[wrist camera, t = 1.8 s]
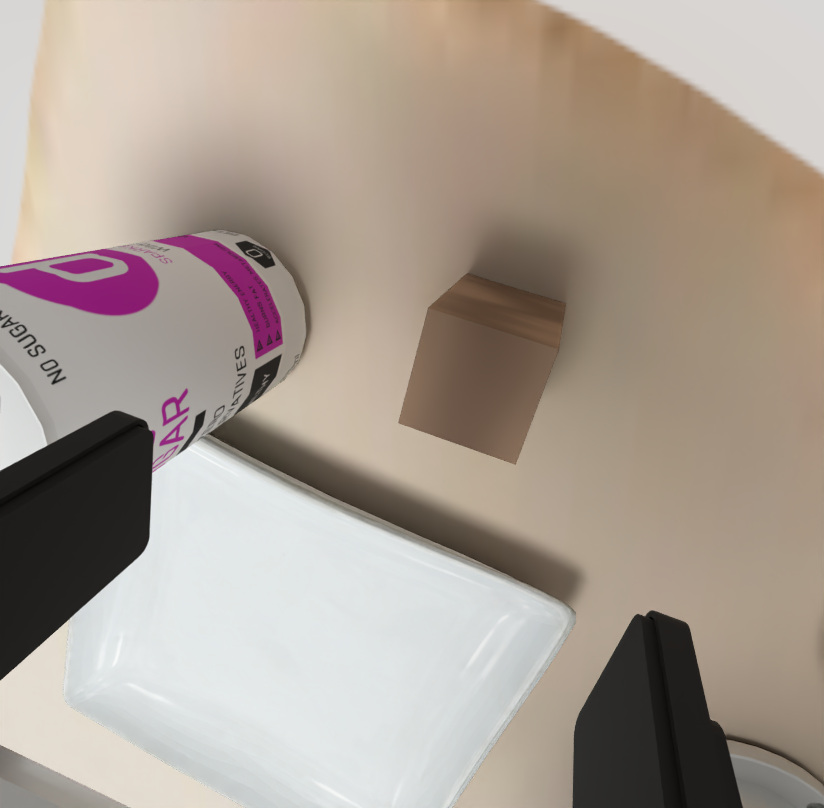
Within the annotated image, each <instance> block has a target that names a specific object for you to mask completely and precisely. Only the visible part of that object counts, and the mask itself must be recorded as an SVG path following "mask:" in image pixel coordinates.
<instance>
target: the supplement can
mask: <svg viewBox="0 0 824 808" xmlns="http://www.w3.org/2000/svg"><path fill="white" fill-rule="evenodd" d="M305 338H306V323H305V310H304V304H303V302H302V299H301V297H300V294H299V292H298V289H297V287H296V284H295V282H294V279H293V277H292V276H291V274H290V273H289V272H288V271H287V269H286V268H285V267H284V266H283V265H282V263H281V262H280V261H279V260H278V258H277V257H276V256H275V255H274V253H273V252H271V251H270V250H268V249H267V248H265V247H264V246H262V245H261V244H259V243H258V242H256V241H255V240H253V239H251V238H250V237H248V236H247V235H242V234H238V233H233V232H229V231H225V230H220V229H219V230H213V231H207V232H201V233H196V234H190V235H184V236H178V237H172V238H166V239H160V240H154V241H148V242H142V243H136V244H130V245H125V246H119V247H113V248H107V249H101V250H95V251H89V252H83V253H77V254H71V255H65V256H60V257H54V258H48V259H42V260H36V261H30V262H24V263H18V264H12V265H6V266H1V267H0V470H2V469H4V468H6V467H8V466H10V465H12V464H14V463H15V462H17V461H19V460H21V459H23V458H25V457H27V456H29V455H30V454H32V453H34V452H36V451H38V450H40V449H42V448H44V447H46V446H47V445H49V444H51V443H53V442H55V441H57V440H59V439H61V438H62V437H64V436H66V435H68V434H70V433H72V432H74V431H76V430H77V429H79V428H81V427H83V426H85V425H87V424H89V423H91V422H93V421H94V420H96V419H98V418H100V417H102V416H104V415H106V414H108V413H109V412H112V411H115V410H117V411H122V412H124V413H127V414H130V415H132V416H135V417H138V418H140V419H143V420H145V421H146V422H147V424H148V427H149V430H150V431H152V433H153V436H154V445H153V468H152V473H153V472H154V471H156V470H157V469H158V468H160V467H161V466H163V465H164V464H165V463H167V462H168V461H170V460H171V459H173V458H174V457H175V456H177V455H178V454H180V453H181V452H183V451H184V450H185V449H187V448H188V447H190V446H191V445H193V444H194V443H195V442H197V441H198V440H200V439H201V438H203V437H204V436H205V435H207V434H208V433H210V432H211V431H212V430H214V429H215V428H217V427H218V426H220V425H221V424H222V423H224V422H225V421H227V420H228V419H230V418H231V417H232V416H234V415H235V414H237V413H238V412H240V411H241V410H242V409H244V408H245V407H247V406H248V405H249V404H251V403H252V402H254V401H255V400H257V399H258V398H259V397H261V396H262V395H264V394H265V393H267V392H268V391H269V390H271V389H272V388H274V387H275V386H277V385H278V384H279V383H281V382H282V381H284V380H285V379H286V377H287V376H288V375H289V373H290V372H291V371H292V370H293V368H294V367H295V366H296V364H297V363H298V362H299V360H300V357H301V353H302V349H303V346H304V342H305Z"/></svg>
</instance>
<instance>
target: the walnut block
mask: <svg viewBox="0 0 824 808" xmlns="http://www.w3.org/2000/svg"><path fill="white" fill-rule="evenodd" d="M565 307H566V304H565V303H562V302H558V301H555V300H552V299H549V298H545V297H542V296H539V295H535V294H532V293H529V292H526V291H522V290H519V289H516V288H513V287H509V286H506V285H503V284H500V283H496V282H493V281H490V280H487V279H483V278H480V277H477V276H473V275H470V274H466V275H465V276H464V277H463V278H461V279H460V280H459V281H458V282H457V283H456V284H455V285H454V286H452V287H451V288H450V289H449V290H448V291H447V292H446V293H444V294H443V295H442V296H441V297H440V298H439V299H438V300H437V301H435V302H434V303H433V304H432V305H431V306H430V307H429V308H428V311H427V315H426V319H425V323H424V326H423V330H422V334H421V338H420V342H419V346H418V349H417V353H416V357H415V361H414V365H413V369H412V372H411V376H410V380H409V384H408V388H407V392H406V395H405V399H404V403H403V407H402V411H401V415H400V418H399V422H398V423H400V424H402V425H405V426H408V427H411V428H414V429H417V430H419V431H422V432H425V433H428V434H431V435H433V436H436V437H439V438H442V439H445V440H448V441H450V442H453V443H456V444H459V445H462V446H465V447H467V448H470V449H473V450H476V451H479V452H482V453H484V454H487V455H490V456H493V457H496V458H498V459H501V460H504V461H507V462H510V463H513V464H515V465H516V462H517V460H518V457H519V454H520V452H521V449H522V446H523V444H524V441H525V438H526V436H527V433H528V430H529V428H530V425H531V422H532V420H533V417H534V414H535V412H536V409H537V406H538V404H539V401H540V398H541V396H542V393H543V390H544V388H545V385H546V382H547V380H548V377H549V374H550V372H551V369H552V366H553V364H554V361H555V358H556V356H557V353H558V350H559V345H560V339H561V333H562V326H563V320H564V313H565Z"/></svg>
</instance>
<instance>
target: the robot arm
mask: <svg viewBox="0 0 824 808" xmlns="http://www.w3.org/2000/svg"><path fill="white" fill-rule="evenodd" d="M153 445H154V436H153V433H152V431H150V430H149V427H148V424H147V422H146V421H145V420H143V419H140V418H138V417H135V416H132V415H130V414H127V413H124V412H122V411H117V410H115V411H112V412H109V413H108V414H106V415H104V416H102V417H100V418H98V419H96V420H94V421H93V422H91V423H89V424H87V425H85V426H83V427H81V428H79V429H77V430H76V431H74V432H72V433H70V434H68V435H66V436H64V437H62V438H61V439H59V440H57V441H55V442H53V443H51V444H49V445H47V446H46V447H44V448H42V449H40V450H38V451H36V452H34V453H32V454H30V455H29V456H27V457H25V458H23V459H21V460H19V461H17V462H15V463H14V464H12V465H10V466H8V467H6V468H4V469H2V470H0V680H1V679H3V678H4V677H5V676H6V675H7V674H8V673H9V672H10V671H12V670H13V669H14V668H15V667H16V666H17V665H18V664H19V663H21V662H22V661H23V660H24V659H25V658H26V657H27V656H28V655H30V654H31V653H32V652H33V651H34V650H35V649H36V648H37V647H38V646H40V645H41V644H42V643H43V642H44V641H45V640H46V639H47V638H49V637H50V636H51V635H52V634H53V633H54V632H55V631H56V630H58V629H59V628H60V627H61V626H62V625H63V624H64V623H65V622H67V621H68V620H69V619H70V618H71V617H72V616H73V615H74V614H76V613H77V612H78V611H79V610H80V609H81V608H82V607H83V606H85V605H86V604H87V603H88V602H89V601H90V600H91V599H92V598H93V597H95V596H96V595H97V594H98V593H99V592H100V591H101V590H102V589H104V588H105V587H106V586H107V585H108V584H109V583H110V582H111V581H113V580H114V579H115V578H116V577H117V576H118V575H119V574H120V573H122V572H123V571H124V570H125V569H126V568H127V567H128V566H129V565H131V564H132V563H133V562H134V561H135V560H136V559H137V558H138V557H139V556H140V555H141V554H142V553H143V552H144V550H145V549H146V547H147V545H148V542H149V537H150V515H151V491H152V468H153ZM0 808H130V807H128V806H126V805H124V804H121V803H119V802H117V801H115V800H113V799H111V798H109V797H107V796H105V795H103V794H101V793H99V792H97V791H95V790H93V789H91V788H89V787H86V786H84V785H82V784H80V783H78V782H76V781H74V780H72V779H70V778H68V777H66V776H64V775H62V774H60V773H57V772H55V771H53V770H51V769H49V768H47V767H45V766H43V765H41V764H39V763H37V762H35V761H32V760H30V759H28V758H26V757H24V756H22V755H20V754H18V753H16V752H14V751H12V750H10V749H7V748H5V747H3V746H1V745H0ZM573 808H824V786H823V784H822V783H820V782H819V781H818V780H817V779H815V778H814V777H813V776H812V775H810V774H809V773H808V772H807V771H805V770H804V769H803V768H801V767H799V766H797V765H796V764H794V763H792V762H790V761H789V760H787V759H785V758H783V757H781V756H779V755H776V754H774V753H771V752H769V751H766V750H764V749H761V748H759V747H755V746H752V745H748V744H744V743H740V742H736V741H732V740H726V737H725V735H724V732H723V729H722V728H721V726H720V725H719V724H718V723H717V722H715V721H712V720H710V717H709V712H708V708H707V704H706V699H705V695H704V690H703V686H702V681H701V677H700V672H699V668H698V663H697V659H696V655H695V650H694V646H693V641H692V637H691V632H690V629H689V626H688V624H687V623H685V622H683V621H680V620H678V619H675V618H672V617H670V616H667V615H664V614H662V613H659V612H656V611H650V612H648V613H647V615H646V616H642V615H639V614H637V615H635V616H634V618H633V619H632V621H631V623H630V624H629V626H628V628H627V630H626V631H625V633H624V635H623V637H622V639H621V640H620V642H619V644H618V646H617V647H616V649H615V651H614V653H613V655H612V656H611V658H610V660H609V662H608V663H607V665H606V667H605V669H604V670H603V672H602V674H601V676H600V678H599V679H598V681H597V683H596V685H595V686H594V688H593V690H592V692H591V694H590V695H589V697H588V699H587V701H586V702H585V704H584V706H583V708H582V710H581V711H580V713H579V715H578V718H577V721H576V725H575V731H574V764H573Z"/></svg>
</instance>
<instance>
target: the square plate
mask: <svg viewBox="0 0 824 808" xmlns="http://www.w3.org/2000/svg"><path fill="white" fill-rule="evenodd" d="M575 622H576V612H575V611H574V610H573V609H572V608H571V607H570V606H569V605H567V604H565V603H564V602H562V601H560V600H558V599H557V598H555V597H553V596H551V595H549V594H547V593H545V592H543V591H541V590H539V589H537V588H534V587H532V586H530V585H528V584H526V583H523V582H521V581H518V580H516V579H514V578H513V577H511V576H509V575H507V574H505V573H502V572H500V571H498V570H496V569H494V568H491V567H489V566H487V565H485V564H483V563H481V562H478V561H476V560H474V559H472V558H470V557H468V556H465V555H463V554H461V553H459V552H456V551H454V550H452V549H449V548H447V547H445V546H442V545H440V544H438V543H435V542H433V541H430V540H428V539H426V538H423V537H421V536H419V535H416V534H414V533H412V532H410V531H407V530H405V529H403V528H401V527H398V526H396V525H394V524H392V523H389V522H387V521H385V520H383V519H380V518H378V517H376V516H374V515H372V514H369V513H367V512H365V511H363V510H360V509H358V508H356V507H354V506H351V505H349V504H347V503H345V502H342V501H340V500H338V499H336V498H333V497H331V496H329V495H327V494H325V493H323V492H321V491H319V490H317V489H315V488H313V487H311V486H309V485H307V484H305V483H303V482H301V481H299V480H297V479H295V478H293V477H291V476H289V475H287V474H285V473H282V472H280V471H278V470H276V469H274V468H272V467H270V466H268V465H266V464H264V463H262V462H260V461H258V460H256V459H254V458H252V457H250V456H248V455H246V454H245V453H243V452H241V451H239V450H237V449H235V448H233V447H231V446H230V445H228V444H226V443H224V442H222V441H220V440H218V439H216V438H215V437H213V436H211V435H209V434H207V435H205V436H204V437H203V438H201V439H200V440H198V441H197V442H195V443H194V444H193V445H191V446H190V447H188V448H187V449H185V450H184V451H183V452H181V453H180V454H178V455H177V456H175V457H174V458H173V459H171V460H170V461H168V462H167V463H165V464H164V465H163V466H161V467H160V468H158V469H157V470H156V471H154V472H153V473H152V491H151V515H150V537H149V542H148V545H147V547H146V549H145V550H144V552H143V553H142V554H141V555H140V556H139V557H138V558H137V559H136V560H135V561H134V562H133V563H132V564H131V565H129V566H128V567H127V568H126V569H125V570H124V571H123V572H122V573H120V574H119V575H118V576H117V577H116V578H115V579H114V580H113V581H111V582H110V583H109V584H108V585H107V586H106V587H105V588H104V589H102V590H101V591H100V592H99V593H98V594H97V595H96V596H95V597H93V598H92V599H91V600H90V601H89V602H88V603H87V604H86V605H85V606H83V607H82V608H81V609H80V610H79V611H78V612H77V613H76V614H74V615H73V616H72V617H71V618H70V619H69V629H68V639H67V650H66V661H65V674H64V686H63V695H64V700H65V702H66V703H67V704H68V705H69V706H70V707H71V708H73V709H75V710H76V711H78V712H79V713H81V714H83V715H85V716H86V717H88V718H90V719H91V720H93V721H95V722H96V723H98V724H100V725H101V726H103V727H105V728H107V729H108V730H110V731H112V732H113V733H115V734H117V735H118V736H120V737H122V738H123V739H125V740H127V741H128V742H130V743H132V744H133V745H135V746H137V747H138V748H140V749H142V750H143V751H145V752H147V753H149V754H150V755H152V756H154V757H155V758H157V759H159V760H161V761H162V762H164V763H166V764H167V765H169V766H171V767H173V768H174V769H176V770H178V771H179V772H181V773H183V774H185V775H187V776H189V777H191V778H193V779H194V780H196V781H197V782H199V783H201V784H203V785H204V786H206V787H208V788H210V789H212V790H213V791H215V792H217V793H219V794H221V795H223V796H224V797H226V798H228V799H230V800H232V801H234V802H235V803H237V804H239V805H241V806H243V807H245V808H453V806H454V805H455V803H456V802H457V800H458V798H459V797H460V795H461V794H462V792H463V791H464V789H465V788H466V786H467V785H468V783H469V782H470V780H471V779H472V777H473V776H474V774H475V772H476V771H477V769H478V768H479V766H480V765H481V763H482V762H483V761H484V759H485V758H486V756H487V755H488V753H489V752H490V750H491V749H492V747H493V746H494V744H495V743H496V742H497V740H498V739H499V737H500V736H501V734H502V733H503V731H504V730H505V728H506V727H507V725H508V724H509V723H510V721H511V720H512V718H513V717H514V716H515V714H516V713H517V711H518V710H519V708H520V707H521V706H522V704H523V703H524V701H525V700H526V698H527V697H528V695H529V694H530V693H531V691H532V690H533V688H534V687H535V685H536V684H537V682H538V681H539V680H540V678H541V677H542V675H543V674H544V672H545V671H546V669H547V668H548V666H549V665H550V663H551V662H552V660H553V659H554V657H555V656H556V654H557V653H558V651H559V650H560V648H561V646H562V645H563V643H564V641H565V640H566V638H567V637H568V635H569V633H570V632H571V630H572V628H573V626H574V624H575Z"/></svg>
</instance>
